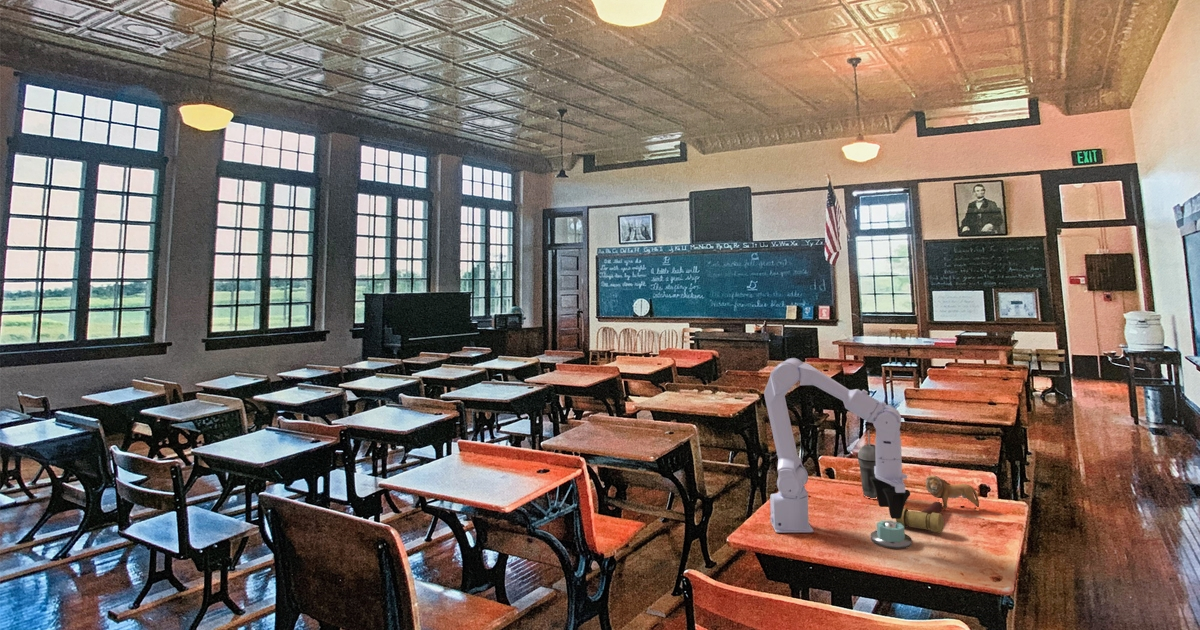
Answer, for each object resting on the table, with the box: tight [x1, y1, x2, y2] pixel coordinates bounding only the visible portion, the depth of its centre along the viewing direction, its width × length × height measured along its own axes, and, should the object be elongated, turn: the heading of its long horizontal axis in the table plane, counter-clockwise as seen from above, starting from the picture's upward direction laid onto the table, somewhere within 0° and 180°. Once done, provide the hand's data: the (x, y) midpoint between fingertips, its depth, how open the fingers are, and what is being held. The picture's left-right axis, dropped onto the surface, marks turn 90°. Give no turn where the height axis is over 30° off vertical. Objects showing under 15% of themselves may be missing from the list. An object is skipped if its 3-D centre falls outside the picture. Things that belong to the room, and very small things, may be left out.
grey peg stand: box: [870, 520, 913, 550], centre depth 146 cm, size 9×9×4 cm
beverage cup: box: [857, 430, 877, 498], centre depth 175 cm, size 7×7×20 cm
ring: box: [876, 520, 906, 542], centre depth 146 cm, size 6×6×3 cm
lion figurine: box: [924, 474, 980, 511], centre depth 164 cm, size 15×5×9 cm, turn 86°
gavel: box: [895, 501, 945, 534], centre depth 157 cm, size 21×5×10 cm
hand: (889, 512), depth 145 cm, fingers open, 7 cm apart
